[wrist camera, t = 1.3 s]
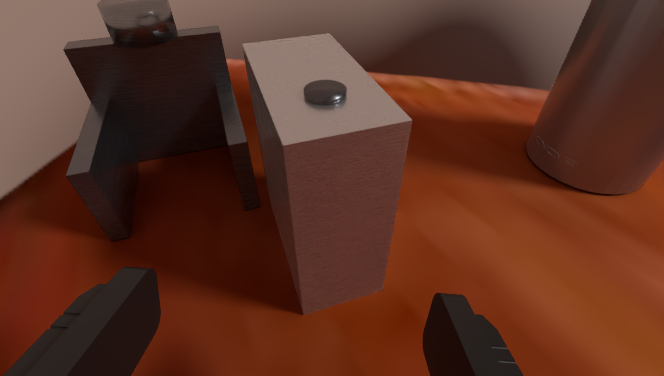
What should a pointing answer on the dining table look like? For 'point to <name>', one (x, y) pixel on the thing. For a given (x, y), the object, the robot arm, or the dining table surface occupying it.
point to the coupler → (150, 106)
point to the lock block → (328, 164)
